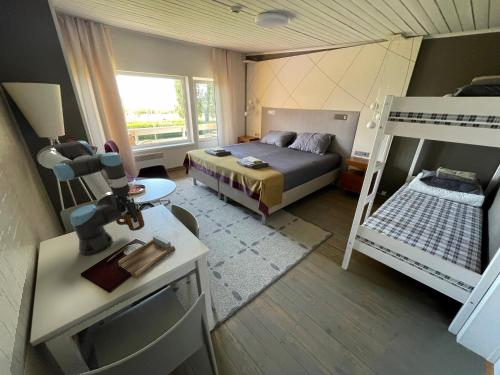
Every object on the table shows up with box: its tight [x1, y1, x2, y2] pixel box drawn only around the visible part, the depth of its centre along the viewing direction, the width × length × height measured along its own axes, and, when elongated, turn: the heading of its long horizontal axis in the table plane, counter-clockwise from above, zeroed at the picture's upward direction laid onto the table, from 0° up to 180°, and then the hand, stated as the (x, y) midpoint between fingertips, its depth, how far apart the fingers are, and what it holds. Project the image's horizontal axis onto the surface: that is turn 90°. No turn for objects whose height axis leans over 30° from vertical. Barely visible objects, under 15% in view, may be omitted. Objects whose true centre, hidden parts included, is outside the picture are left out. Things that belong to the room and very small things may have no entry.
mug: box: [115, 208, 145, 231], centre depth 108 cm, size 12×8×9 cm, turn 128°
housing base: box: [117, 238, 176, 279], centre depth 104 cm, size 15×22×3 cm
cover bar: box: [152, 234, 172, 249], centre depth 111 cm, size 12×2×4 cm, turn 59°
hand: (132, 224), depth 108 cm, fingers closed on mug, 7 cm apart
